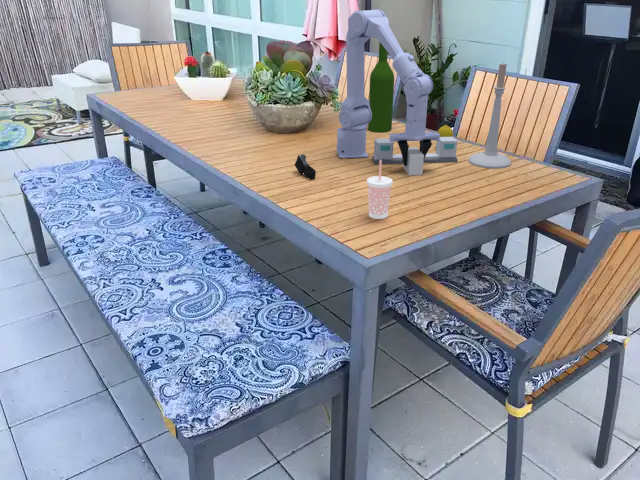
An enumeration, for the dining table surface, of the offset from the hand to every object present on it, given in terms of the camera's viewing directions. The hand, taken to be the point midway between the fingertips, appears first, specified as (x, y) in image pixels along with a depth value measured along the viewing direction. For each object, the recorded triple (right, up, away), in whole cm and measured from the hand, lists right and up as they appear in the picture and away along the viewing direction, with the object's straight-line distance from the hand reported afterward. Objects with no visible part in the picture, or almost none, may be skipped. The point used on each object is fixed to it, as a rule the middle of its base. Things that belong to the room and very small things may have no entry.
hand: (412, 164), depth 159 cm
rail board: (+2, +3, +10) cm, 11 cm away
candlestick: (+25, +2, +8) cm, 27 cm away
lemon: (+14, +8, +22) cm, 27 cm away
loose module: (0, -2, +1) cm, 2 cm away
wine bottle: (-5, +20, +45) cm, 49 cm away
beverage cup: (-13, -17, -29) cm, 36 cm away
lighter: (-32, -4, -2) cm, 32 cm away
